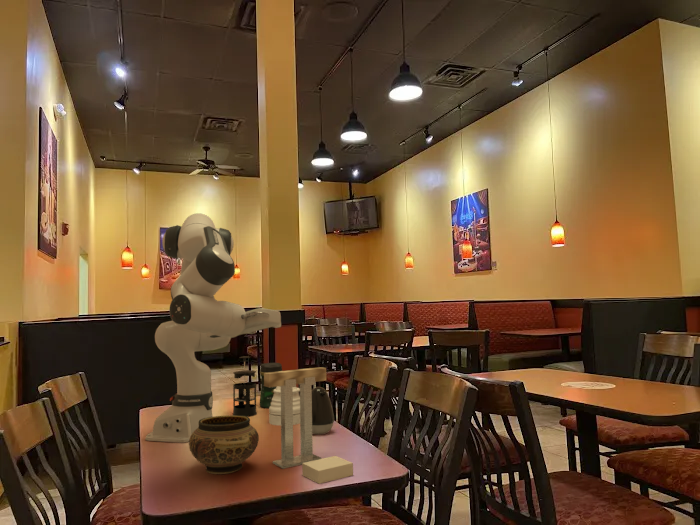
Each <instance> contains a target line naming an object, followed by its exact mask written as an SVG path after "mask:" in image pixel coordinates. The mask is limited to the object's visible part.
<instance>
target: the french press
mask: <svg viewBox="0 0 700 525" xmlns="http://www.w3.org/2000/svg"><path fill="white" fill-rule="evenodd" d="M250 358H251V357H250V356H247V355H246V356H245V355H243V356H239V359H243V370H237V371H233V373H232V374H233V375H234V379H237V380H239V379H241V378H242V377H244V378H243V381H244V382H237V383H234V384H232V385H233V387H232V389H233V390H232V391H233V394H232V396H233V405H232V406H233V408H232V410H233V413H232V415H238V416H247V417H249V418H250V417H254V416H256V415H257V383H256V382H246V377H253V378H255V376H256V372H257V371H256V370H249V369H248V370H246V361H247V360H246V359H250ZM251 389H253V390H254V392H253V394H254V396H251ZM236 390H238V397H236ZM252 401H254V404H253V403H251V402H252ZM236 402H238V404H237V405H236Z"/></svg>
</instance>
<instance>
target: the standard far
mask: <svg viewBox="0 0 700 525" xmlns="http://www.w3.org/2000/svg"><path fill="white" fill-rule="evenodd" d="M313 385H314V386H315V385H316V382H315V377H307V378H304V383H301V384H299V388H300V391H299V396H300V424H299V425H300V426H299V428H300V430H299V431H300V455H295V456H293V458H295V459H297V460H299V461H301V462H303V463H305V462H310V461H314V460H319V459H323V458H322V457H320V456H318V455H316V454H314V453H313V452H314V450H313V448H314V447H313V434H312V390H313V389H312V386H313Z"/></svg>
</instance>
